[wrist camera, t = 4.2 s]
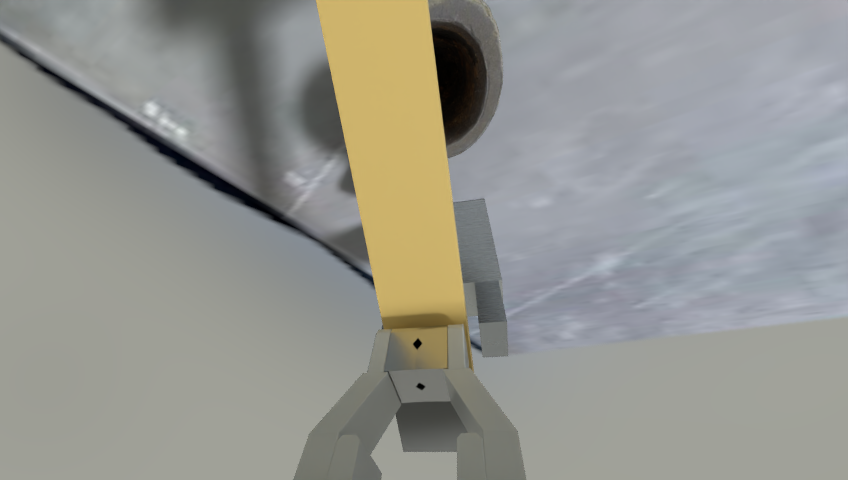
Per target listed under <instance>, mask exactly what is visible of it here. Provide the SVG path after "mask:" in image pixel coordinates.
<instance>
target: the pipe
mask: <svg viewBox="0 0 848 480" xmlns="http://www.w3.org/2000/svg"><path fill="white" fill-rule="evenodd" d="M428 6H429V14H430V22H431V30H432V38H433V46H434V54H435V62H436V70H437V78H438V86H439V94H440V103H441V111H442V119H443V127H444V135H445V143H446V151H447V158H450V157H453V156H456V155H458V154H461V153H462V152H464V151H465V150H467V149H468V148H470V147H471V146H472V145H473V144H474V143H475V142H476V141H477V140H478V139H479V138H480V136H481V135H482V134H483V133H484V132H485V130H486V128H487V127H488V125H489V123H490V121H491V119H492V118H493V116H494V114H495V112H496V110H497V107H498V104H499V99H500V95H501V89H502V84H503V62H502V52H501V44H500V36H499V30H498V27H497V24H496V21H495V20H494V18H493V16H492V13H491V11H490V8H489V7H488V5H487V4H486V3H485V2H484V1H483V0H428Z"/></svg>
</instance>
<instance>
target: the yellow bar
mask: <svg viewBox="0 0 848 480" xmlns="http://www.w3.org/2000/svg"><path fill="white" fill-rule="evenodd" d="M316 3H317V8H318V13H319V17H320V22H321V27H322V32H323V37H324V42H325V46H326V51H327V56H328V61H329V66H330V71H331V76H332V80H333V85H334V90H335V95H336V100H337V105H338V109H339V114H340V119H341V124H342V129H343V134H344V139H345V143H346V148H347V153H348V158H349V163H350V168H351V172H352V177H353V182H354V187H355V192H356V197H357V202H358V206H359V211H360V216H361V221H362V226H363V231H364V235H365V240H366V245H367V250H368V255H369V260H370V265H371V269H372V274H373V279H374V284H375V289H376V294H377V298H378V303H379V308H380V313H381V318H382V323H383V328H384V329H402V328H420V327H428V326H440V325H457V324H463V325H464V330H465V337H466V343H467V351H468V359H469V368H471V370H472V371H473V372H474V369H473V361H472V353H471V344H470V336H469V328H468V320H467V312H466V304H465V296H464V288H463V280H462V272H461V264H460V256H459V248H458V240H457V232H456V224H455V215H454V207H453V199H452V191H451V183H450V175H449V167H448V159H447V151H446V143H445V135H444V127H443V119H442V111H441V103H440V94H439V86H438V78H437V70H436V62H435V54H434V46H433V38H432V30H431V22H430V14H429V6H428V0H316ZM396 419H397V423H398V428H399V433H400V437H401V442H402V447H403V451H404V452H457V438H458V436H459V435H460V434H461V433H468V432H467V430H466V428H465V426H464V425H463V423H462V421H461V419H460V418H459V416H458V414H457V412H456V411H455V409H454V407H453V405H452V404H451V401H435V402H410V403H401V406H400V408H399V409H398V411H397V412H396Z"/></svg>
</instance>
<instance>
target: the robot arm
mask: <svg viewBox="0 0 848 480" xmlns="http://www.w3.org/2000/svg"><path fill="white" fill-rule="evenodd" d="M435 401H451V404H452V405H453V407H454V409H455V411H456V412H457V414H458V416H459V418H460V419H461V421H462V423H463V425H464V426H465V428H466V430H467V432H468V433H461V434H460V435H459V436H458V438H457V480H526V475H525V470H524V465H523V459H522V454H521V448H520V442H519V436H518V431H517V430H516V428H515V427H514V426H513V425H512V423H511V422H510V420H509V419H508V418H507V416H506V415H505V414H504V412H503V411H502V410H501V408H500V407H499V406H498V404H497V403H496V402H495V400H494V399H493V398H492V397H491V395H490V394H489V392H488V391H487V390H486V388H485V387H484V386H483V384H482V383H481V382H480V380H479V379H478V378H477V376H476V375H475V374H474V372H473V371H472V370H471V368H469V359H468V351H467V343H466V337H465V330H464V325H463V324H457V325H440V326H428V327H420V328H402V329H383V330H378V332H377V333H376V337H375V341H374V346H373V350H372V354H371V358H370V362H369V366H368V371H367V373H363V374H362V375H361V376H360V377H359V378H358V379H357V381H356V382H355V383H354V384H353V385H352V386H351V387H350V388H349V389H348V391H347V392H346V393H345V394H344V395H343V396H342V397H341V398H340V400H339V401H338V402H337V403H336V404H335V405H334V407H332V409H331V410H330V411H329V412H328V413H327V414H326V415H325V417H324V418H323V419H322V420H321V421H320V422H319V423H318V424H317V426H316V427H315V428H314V429H313V430H312V431H311V433H310V434H309V436H308V439H307V442H306V445H305V447H304V450H303V453H302V456H301V459H300V462H299V465H298V468H297V471H296V473H295V476H294V479H293V480H381V475H382V473H381V471H380V470H379V468H378V466H377V465H376V463H375V462H374V460H373V459H372V457H371V456H370V454H371V453H372V451H373V450H374V448H375V446H376V445H377V443H378V442H379V440H380V438H381V437H382V435H383V433H384V432H385V430H386V429H387V427H388V425H389V424H390V422H391V420H392V419H393V417H394V415H395V414H396V412H397V411H398V409H399V408H400V406H401V403H410V402H435Z"/></svg>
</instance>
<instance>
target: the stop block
mask: <svg viewBox="0 0 848 480" xmlns="http://www.w3.org/2000/svg"><path fill="white" fill-rule="evenodd" d="M453 207H454V215H455V224H456V232H457V240H458V248H459V256H460V264H461V272H462V280H463V288H464V296H465V304H466V312H467V317H468V316H478V320H479V329H480V337H481V346H482V355H483V357H500V356H508V341H507V320H506V315H505V310H504V305H503V291H502V278H501V273H500V268H499V264H498V259H497V254H496V250H495V245H494V241H493V236H492V231H491V227H490V222H489V217H488V213H487V208H486V203H485V199H480V200H472V201H464V202H456V203H453ZM383 329H384V328H383V325H382V330H383Z"/></svg>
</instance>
